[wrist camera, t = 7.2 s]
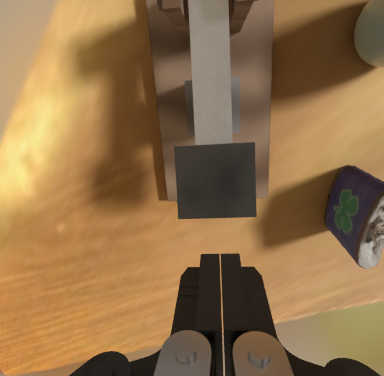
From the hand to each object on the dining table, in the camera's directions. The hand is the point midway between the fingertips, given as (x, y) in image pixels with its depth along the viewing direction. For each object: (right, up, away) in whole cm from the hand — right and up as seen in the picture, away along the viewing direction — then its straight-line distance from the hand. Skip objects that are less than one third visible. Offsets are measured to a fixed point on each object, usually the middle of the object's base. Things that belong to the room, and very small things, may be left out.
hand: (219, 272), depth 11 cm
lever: (+1, +11, +12) cm, 16 cm away
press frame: (+1, +14, +21) cm, 25 cm away
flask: (+18, +2, +25) cm, 31 cm away
